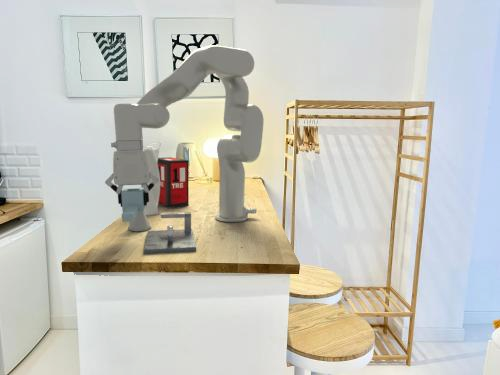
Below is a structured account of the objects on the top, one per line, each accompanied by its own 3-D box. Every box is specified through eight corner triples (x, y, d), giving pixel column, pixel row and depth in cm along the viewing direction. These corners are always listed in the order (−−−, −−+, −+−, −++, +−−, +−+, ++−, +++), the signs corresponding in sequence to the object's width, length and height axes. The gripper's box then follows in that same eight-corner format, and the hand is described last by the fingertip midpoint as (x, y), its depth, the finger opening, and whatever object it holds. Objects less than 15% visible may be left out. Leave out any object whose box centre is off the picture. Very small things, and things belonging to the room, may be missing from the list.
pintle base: (192, 232, 118) (192, 211, 117) (196, 251, 101) (196, 226, 100) (147, 234, 115) (147, 212, 114) (144, 253, 98) (143, 228, 97)
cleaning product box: (153, 201, 165) (152, 158, 162) (170, 199, 171) (170, 157, 168) (170, 208, 153) (169, 161, 149) (188, 205, 158) (188, 160, 155)
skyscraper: (159, 210, 148) (158, 141, 144) (164, 214, 142) (163, 142, 137) (139, 212, 144) (137, 141, 140) (143, 216, 138) (141, 142, 133)
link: (125, 207, 113) (124, 188, 112) (145, 206, 114) (144, 187, 113) (116, 222, 96) (114, 200, 95) (139, 220, 98) (138, 199, 96)
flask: (142, 225, 126) (141, 196, 125) (155, 228, 122) (154, 199, 120) (124, 229, 121) (122, 199, 119) (136, 233, 116) (135, 203, 115)
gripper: (96, 148, 101) (102, 210, 105) (159, 146, 105) (163, 206, 109) (101, 146, 109) (106, 204, 112) (160, 144, 112) (163, 201, 116)
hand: (134, 204), depth 110 cm, fingers closed on link, 6 cm apart
